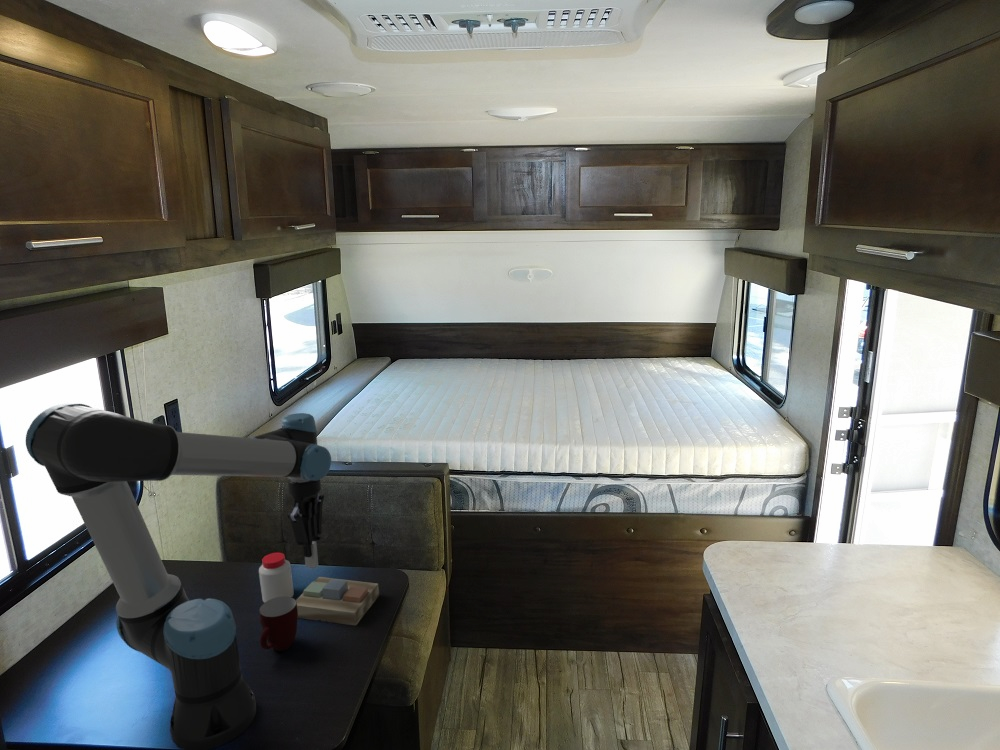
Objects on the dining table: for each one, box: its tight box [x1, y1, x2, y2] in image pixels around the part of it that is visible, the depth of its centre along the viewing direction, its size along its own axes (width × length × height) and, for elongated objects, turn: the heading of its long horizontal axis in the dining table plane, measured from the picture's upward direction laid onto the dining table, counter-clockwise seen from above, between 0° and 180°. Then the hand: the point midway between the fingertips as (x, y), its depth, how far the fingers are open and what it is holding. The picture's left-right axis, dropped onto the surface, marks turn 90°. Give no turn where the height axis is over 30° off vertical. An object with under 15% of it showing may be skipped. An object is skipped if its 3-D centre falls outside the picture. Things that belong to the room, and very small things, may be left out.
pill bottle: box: [258, 552, 295, 604], centre depth 163 cm, size 8×8×11 cm
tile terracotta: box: [343, 586, 368, 603], centre depth 157 cm, size 4×4×3 cm
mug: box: [258, 597, 298, 652], centre depth 142 cm, size 11×8×10 cm
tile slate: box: [323, 578, 348, 601], centre depth 158 cm, size 4×4×3 cm
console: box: [295, 576, 380, 626], centre depth 159 cm, size 13×17×3 cm
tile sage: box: [302, 581, 327, 598], centre depth 160 cm, size 4×4×3 cm
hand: (312, 566), depth 158 cm, fingers closed
